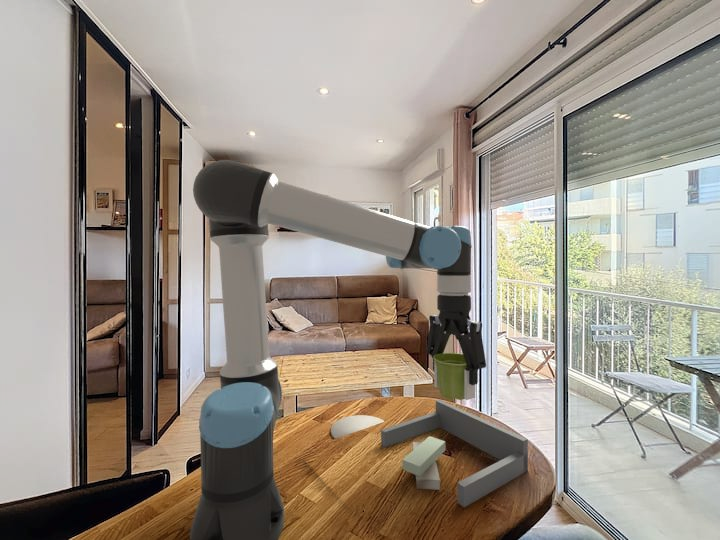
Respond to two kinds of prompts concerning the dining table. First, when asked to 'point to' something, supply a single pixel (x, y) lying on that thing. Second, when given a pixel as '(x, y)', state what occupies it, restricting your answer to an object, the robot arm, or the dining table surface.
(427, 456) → the offcut top
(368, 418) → the mat
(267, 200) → the robot arm
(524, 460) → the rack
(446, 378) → the plant pot
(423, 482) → the block
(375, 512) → the dining table surface
